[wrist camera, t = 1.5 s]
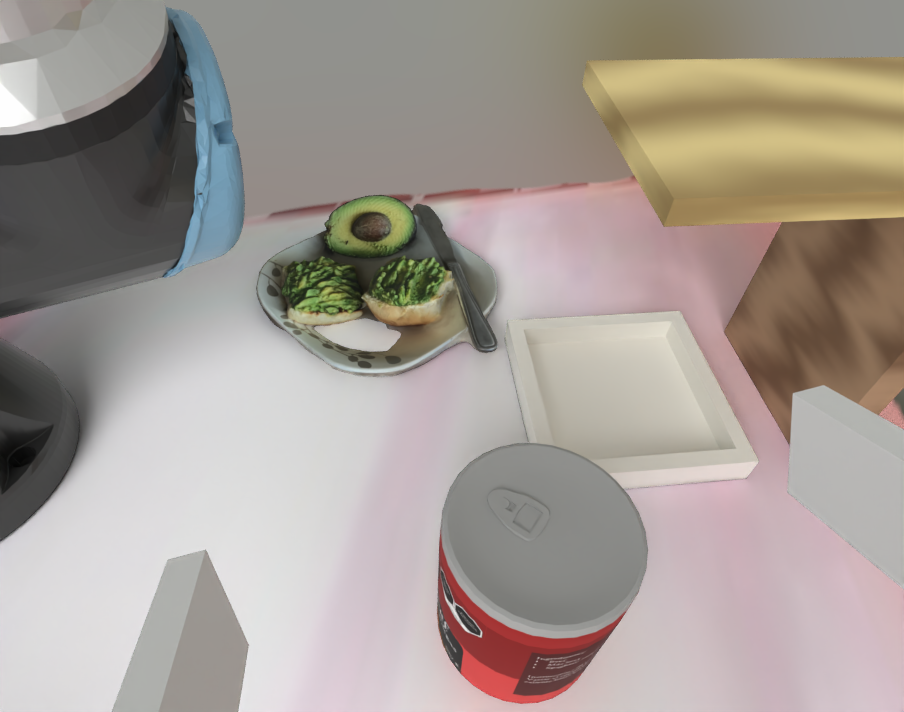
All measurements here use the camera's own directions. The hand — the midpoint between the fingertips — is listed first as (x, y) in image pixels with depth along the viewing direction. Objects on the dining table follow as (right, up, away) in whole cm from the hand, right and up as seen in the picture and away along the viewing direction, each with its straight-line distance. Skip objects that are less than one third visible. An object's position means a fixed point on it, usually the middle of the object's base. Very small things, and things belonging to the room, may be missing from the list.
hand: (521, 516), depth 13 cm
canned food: (+2, -10, +18) cm, 21 cm away
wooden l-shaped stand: (+14, +1, +28) cm, 31 cm away
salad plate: (-7, +9, +35) cm, 37 cm away
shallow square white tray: (+10, 0, +28) cm, 29 cm away
